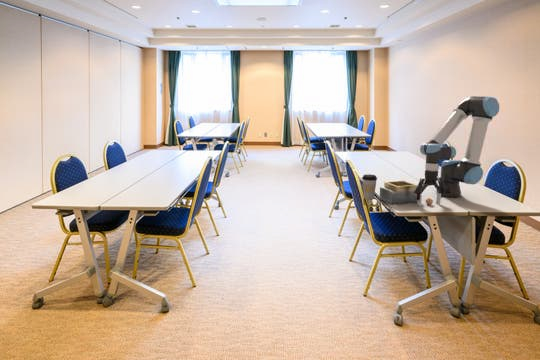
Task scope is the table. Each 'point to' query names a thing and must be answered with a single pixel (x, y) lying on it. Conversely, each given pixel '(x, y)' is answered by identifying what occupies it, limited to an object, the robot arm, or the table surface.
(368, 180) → the coffee cup
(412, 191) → the open square box
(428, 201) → the ball
